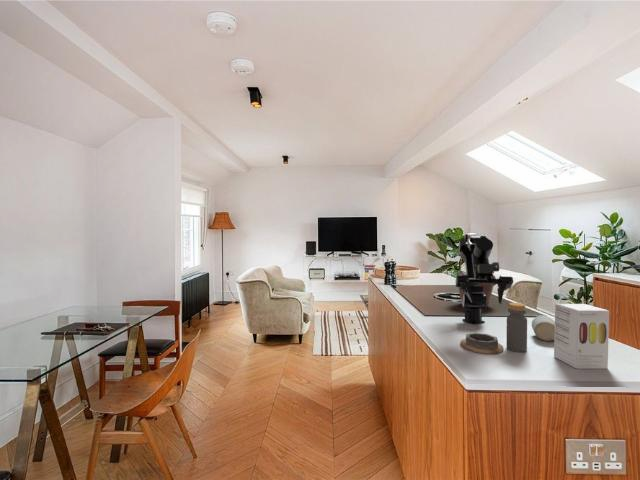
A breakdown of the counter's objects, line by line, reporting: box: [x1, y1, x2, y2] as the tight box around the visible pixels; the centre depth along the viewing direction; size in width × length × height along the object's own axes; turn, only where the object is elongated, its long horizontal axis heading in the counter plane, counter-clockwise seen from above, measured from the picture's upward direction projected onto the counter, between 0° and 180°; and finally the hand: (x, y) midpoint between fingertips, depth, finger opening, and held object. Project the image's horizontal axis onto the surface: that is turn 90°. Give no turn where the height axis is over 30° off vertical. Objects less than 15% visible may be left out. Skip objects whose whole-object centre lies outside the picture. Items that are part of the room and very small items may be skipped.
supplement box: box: [553, 303, 610, 370], centre depth 98 cm, size 10×9×17 cm
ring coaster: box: [460, 332, 504, 355], centre depth 112 cm, size 13×13×3 cm
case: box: [456, 269, 497, 308], centre depth 173 cm, size 18×20×18 cm
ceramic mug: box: [531, 314, 555, 342], centre depth 119 cm, size 11×8×8 cm
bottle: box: [506, 302, 528, 353], centre depth 109 cm, size 6×6×15 cm
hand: (486, 302), depth 118 cm, fingers open, 9 cm apart
